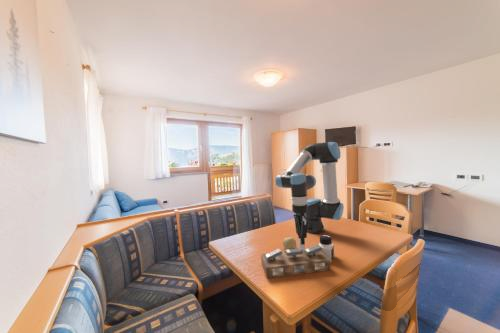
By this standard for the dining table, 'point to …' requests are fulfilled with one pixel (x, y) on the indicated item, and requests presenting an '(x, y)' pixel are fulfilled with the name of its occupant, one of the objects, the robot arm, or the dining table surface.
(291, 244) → the apple
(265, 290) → the dining table surface
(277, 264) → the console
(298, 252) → the block
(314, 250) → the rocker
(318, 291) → the dining table surface
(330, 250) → the medicine bottle
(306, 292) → the dining table surface
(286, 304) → the dining table surface
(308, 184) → the robot arm
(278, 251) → the block
